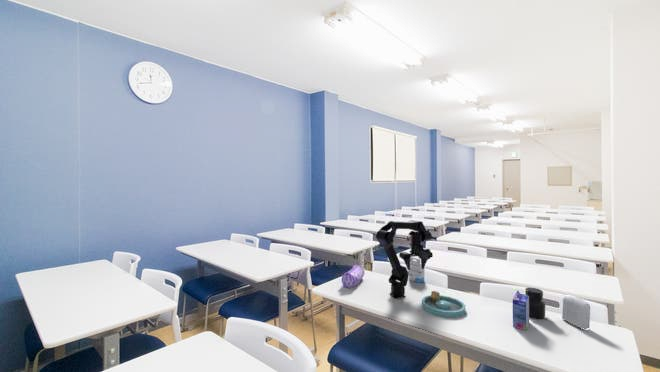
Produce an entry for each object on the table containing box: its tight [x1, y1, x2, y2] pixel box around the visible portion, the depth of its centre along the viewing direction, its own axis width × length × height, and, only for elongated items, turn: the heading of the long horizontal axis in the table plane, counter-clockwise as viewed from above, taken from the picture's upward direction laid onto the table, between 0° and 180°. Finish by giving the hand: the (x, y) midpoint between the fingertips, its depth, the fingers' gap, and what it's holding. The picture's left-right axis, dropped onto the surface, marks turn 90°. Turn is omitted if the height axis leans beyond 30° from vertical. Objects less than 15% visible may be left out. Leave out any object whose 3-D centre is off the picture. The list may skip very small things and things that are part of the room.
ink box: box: [408, 257, 425, 284], centre depth 187 cm, size 8×5×15 cm, turn 39°
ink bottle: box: [524, 287, 546, 320], centre depth 141 cm, size 10×9×12 cm
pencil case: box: [341, 263, 365, 289], centre depth 183 cm, size 22×9×10 cm, turn 159°
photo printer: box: [561, 294, 591, 330], centre depth 132 cm, size 10×4×12 cm, turn 11°
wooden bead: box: [430, 290, 441, 303], centre depth 154 cm, size 4×4×4 cm
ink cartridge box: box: [512, 289, 530, 331], centre depth 132 cm, size 10×6×14 cm, turn 141°
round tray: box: [421, 294, 466, 318], centre depth 148 cm, size 20×20×2 cm
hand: (415, 269), depth 171 cm, fingers open, 9 cm apart
